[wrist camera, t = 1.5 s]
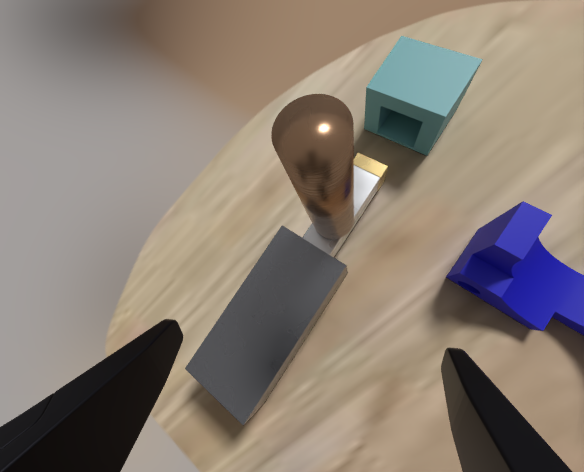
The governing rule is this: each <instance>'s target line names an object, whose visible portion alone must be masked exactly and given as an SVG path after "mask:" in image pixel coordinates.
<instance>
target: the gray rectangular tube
mask: <svg viewBox="0 0 584 472" xmlns="http://www.w3.org/2000/svg"><path fill="white" fill-rule="evenodd" d="M347 273H348V271H347V266H346V265H345V264H343V263H342V262H340V261H338V260H337V259H335V258H334V257H332V256H330V255H329V254H327V253H326V252H324V251H322V250H321V249H319V248H318V247H316V246H314V245H313V244H311V243H310V242H308V241H306V240H305V239H303V238H302V237H300V236H298V235H297V234H295V233H294V232H292V231H290V230H289V229H287V228H285V227H284V226H281V228H280V229H279V231H278V232H277V234H276V235H275V237H274V238H273V240H272V241H271V243H270V244H269V245H268V247H267V248H266V250H265V251H264V253H263V254H262V256H261V257H260V259H259V260H258V262H257V263H256V265H255V266H254V268H253V269H252V271H251V272H250V273H249V275H248V276H247V278H246V279H245V281H244V282H243V284H242V285H241V287H240V288H239V290H238V291H237V293H236V294H235V296H234V297H233V299H232V300H231V302H230V303H229V304H228V306H227V307H226V309H225V310H224V312H223V313H222V315H221V316H220V318H219V319H218V321H217V322H216V324H215V325H214V327H213V328H212V330H211V331H210V332H209V334H208V335H207V337H206V338H205V340H204V341H203V343H202V344H201V346H200V347H199V349H198V350H197V352H196V353H195V355H194V356H193V358H192V359H191V360H190V362H189V363H188V365H187V366H186V368H185V369H186V370H187V371H188V372H189V373H190V374H191V375H192V376H193V377H194V378H195V379H196V380H197V381H198V382H199V383H200V384H201V385H202V386H203V387H204V388H205V389H206V390H207V391H208V392H209V393H210V394H211V395H212V396H213V397H214V398H216V399H217V400H218V401H219V402H220V403H221V404H222V405H223V406H224V407H225V408H226V409H227V410H228V411H229V412H230V413H231V414H232V415H233V416H234V417H235V418H236V419H237V420H238V421H239V422H240V423H241V424H242V425H244V424H245V423H246V422H247V421H248V420H249V419H250V418H251V417H252V416H253V415H254V414H255V413H256V412H257V410H258V409H259V408H260V407H261V406H262V405H263V404H264V403H265V401H266V400H267V398H268V397H269V395H270V394H271V392H272V390H273V389H274V387H275V386H276V384H277V383H278V381H279V380H280V378H281V376H282V375H283V373H284V372H285V370H286V369H287V367H288V365H289V364H290V362H291V361H292V359H293V358H294V356H295V355H296V353H297V351H298V350H299V348H300V347H301V345H302V344H303V342H304V341H305V339H306V337H307V336H308V334H309V333H310V331H311V330H312V328H313V326H314V325H315V323H316V322H317V320H318V319H319V317H320V316H321V314H322V312H323V311H324V309H325V308H326V306H327V305H328V303H329V301H330V300H331V298H332V297H333V295H334V294H335V292H336V291H337V289H338V287H339V286H340V284H341V283H342V281H343V280H344V278H345V277H346V275H347Z"/></svg>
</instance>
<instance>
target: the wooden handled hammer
mask: <svg viewBox="0 0 584 472" xmlns="http://www.w3.org/2000/svg"><path fill="white" fill-rule="evenodd" d="M272 143H273V146H274V148H275V150H276V152H277V154H278V156H279V158H280V160H281V162H282V164H283V166H284V168H285V170H286V172H287V174H288V176H289V178H290V180H291V182H292V184H293V186H294V188H295V190H296V192H297V194H298V196H299V198H300V200H301V202H302V204H303V206H304V208H305V210H306V212H307V214H308V216H309V217H310V219H311V221H312V224H311V225H310V227H309V228H308V230H307V231H306V233H305V234H304V236H303V237H302V238H303V239H305V240H306V241H308V242H310V243H311V244H313V245H314V246H316V247H318V248H319V249H321V250H322V251H324V252H326V253H327V254H329V255H330V256H332V257H335V255H336V253H337V252H338V250H339V249H340V247H341V246H342V244H343V243H344V241H345V240H346V238H347V237H348V235H349V233H350V232H351V230H352V229H353V227H354V226H355V224H356V223H357V221H358V220H359V218H360V217H361V215H362V213H363V212H364V210H365V209H366V207H367V206H368V204H369V203H370V201H371V200H372V198H373V197H374V195H375V193H376V192H377V191H378V190H379V189H380V187H381V186H382V184H383V182H384V181H385V176H386V172H387V168H388V166H386V165H384V164H382V163H380V162H377V161H375V160H373V159H371V158H369V157H367V156H364V155H362V154H360V153H358V154H357V155H356V157H355V158H354V137H353V118H352V115H351V112H350V111H349V109H348V107H347V106H346V105H345V104H344V103H343V102H342V101H340V100H339V99H337V98H335V97H332V96H329V95H325V94H312V95H307V96H303V97H300V98H298V99H296V100H294V101H292V102H291V103H289V104H288V105H287V106H286V107H285V108H284V109H283V110H282V111H281V112H280V113H279V114H278V116H277V118H276V120H275V122H274V124H273V127H272Z"/></svg>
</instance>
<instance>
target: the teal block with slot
mask: <svg viewBox="0 0 584 472" xmlns="http://www.w3.org/2000/svg"><path fill="white" fill-rule="evenodd" d="M482 60H483V59H479V58H476V57H472V56H469V55H465V54H462V53H459V52H455V51H452V50H448V49H445V48H441V47H438V46H435V45H431V44H428V43H424V42H421V41H417V40H414V39H411V38H407V37H404V36H401V37H400V39H399V40H398V42H397V43H396V45H395V46H394V48H393V49H392V51H391V52H390V53H389V55H388V56H387V58H386V59H385V61H384V62H383V64H382V65H381V67H380V68H379V70H378V71H377V73H376V74H375V75H374V77H373V78H372V80H371V81H370V83H369V84H368V86H367V87H366V105H365V124H364V129H366V130H368V131H370V132H373V133H375V134H377V135H380V136H382V137H384V138H387V139H389V140H391V141H394V142H396V143H398V144H401V145H403V146H405V147H408V148H410V149H412V150H415V151H417V152H419V153H422V154H424V155H426V156H427V155H428V154H429V152H430V151H431V149H432V147H433V146H434V144H435V143H436V141H437V140H438V138H439V136H440V135H441V133H442V132H443V130H444V129H445V127H446V126H447V124H448V122H449V121H450V119H451V118H452V116H453V115H454V113H455V111H456V110H457V108H458V106H459V104H460V102H461V100H462V98H463V96H464V95H465V93H466V91H467V89H468V87H469V85H470V83H471V81H472V79H473V77H474V75H475V73H476V71H477V69H478V67H479V66H480V64H481V62H482Z"/></svg>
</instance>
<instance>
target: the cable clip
mask: <svg viewBox="0 0 584 472" xmlns="http://www.w3.org/2000/svg"><path fill="white" fill-rule="evenodd" d="M551 216H552V215H551V214H549V213H546V212H544V211H542V210H540V209H538V208H536V207H534V206H532V205H530V204H528V203H526V202H521V203H520V204H518V205H516V206H515V207H513V208H512V209H510V210H508V211H507V212H505V213H504V214H502V215H500V216H499V217H497V218H496V219H494V220H492V221H491V222H489V223H488V224H486V225H484V226H483V227H481V228H480V229H478V231H477V232H476V233H475V235H474V236H473V238H472V239H471V241H470V242H469V244H468V245H467V247H466V248H465V250H464V251H463V253H462V254H461V256H460V257H459V259H458V260H457V262H456V263H455V265H454V266H453V268H452V269H451V270H450V272H449V273H448V275H447V276H446V278H448V279H450V280H451V281H453V282H455V283H456V284H458V285H459V286H461V287H463V288H464V289H466V290H468V291H469V292H471V293H472V294H474V295H476V296H477V297H479V298H480V299H482V300H484V301H485V302H487V303H489V304H490V305H492V306H493V307H495V308H497V309H498V310H500V311H502V312H503V313H505V314H506V315H508V316H510V317H511V318H513V319H515V320H516V321H518V322H519V323H521V324H523V325H524V326H526V327H528V328H529V329H532V330H540V331H543V330H544V329H545V327H546V326H547V324H548V322H549V321H550V319H551V318H552V317H553V318H554V319H556V320H558V321H560V322H561V323H563V324H565V325H566V326H568V327H570V328H571V329H573V330H575V331H577V332H578V333H580V334H582V335H583V336H584V275H582V274H580V273H578V272H576V271H574V270H573V269H571V268H569V267H568V266H566V265H564V264H563V263H561V262H560V261H559V260H557V259H556V258H555V257H553V256H552V255H551V254H550V253H549V252H548V251H547V250H546V249H545V248H544V247H543V245H542V244H541V242H540V240H539V238H538V236H539V234H540V233H541V231H542V230H543V228H544V227H545V225H546V224H547V222H548V221H549V219H550V218H551Z"/></svg>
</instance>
